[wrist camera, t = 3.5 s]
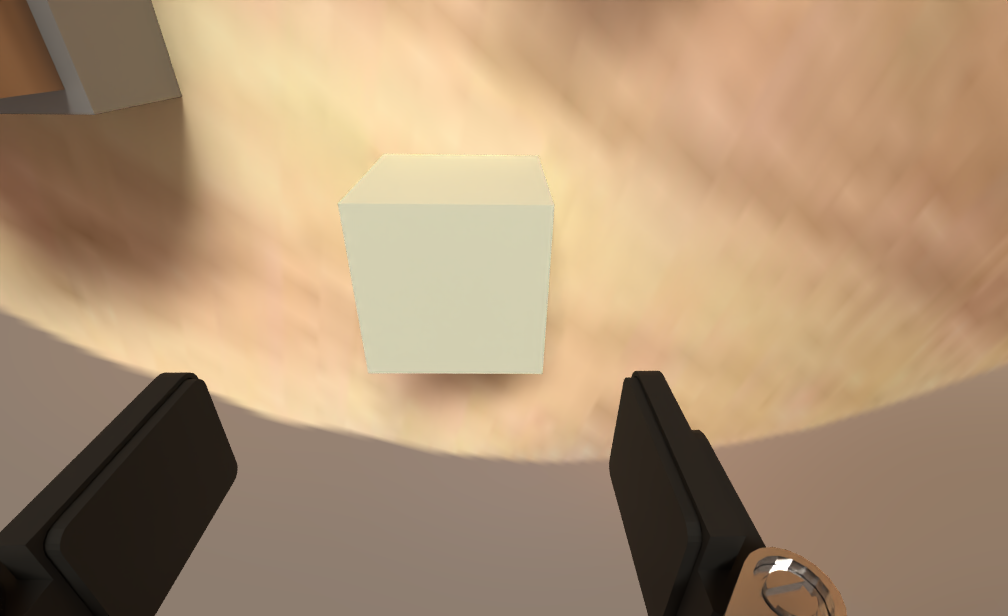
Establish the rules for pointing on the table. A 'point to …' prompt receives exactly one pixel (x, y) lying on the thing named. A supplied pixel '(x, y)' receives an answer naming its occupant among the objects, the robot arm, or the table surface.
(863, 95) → the table surface
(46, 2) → the tower base block
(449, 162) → the cream cube
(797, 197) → the table surface
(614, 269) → the table surface
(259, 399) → the table surface
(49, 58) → the tower top block
